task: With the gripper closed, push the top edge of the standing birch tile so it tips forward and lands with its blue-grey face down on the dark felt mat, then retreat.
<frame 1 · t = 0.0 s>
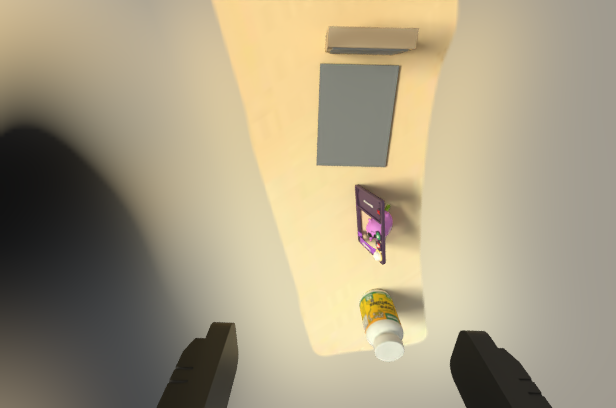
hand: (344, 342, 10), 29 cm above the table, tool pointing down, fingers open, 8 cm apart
felt mat: (354, 118, 35), on the table
tile: (360, 45, 32), on the table
supplement bottle: (374, 299, 47), on the table
purple piece: (372, 211, 41), on the table
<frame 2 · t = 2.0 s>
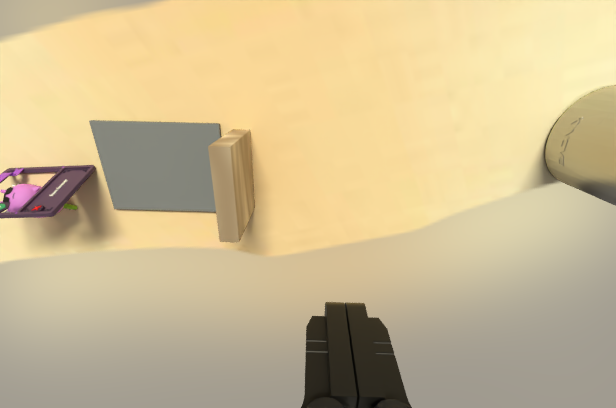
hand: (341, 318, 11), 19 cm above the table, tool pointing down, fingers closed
felt mat: (164, 168, 28), on the table
tile: (244, 170, 28), on the table
purple piece: (63, 187, 30), on the table
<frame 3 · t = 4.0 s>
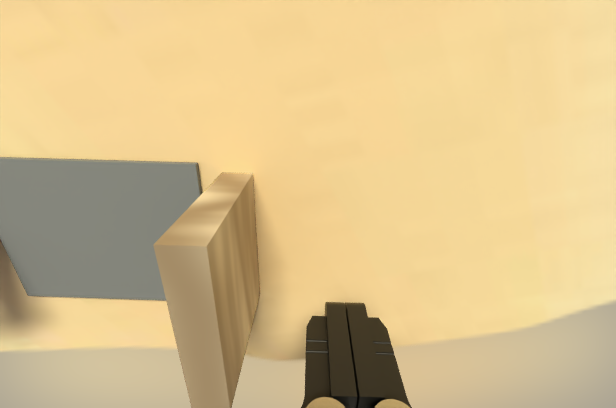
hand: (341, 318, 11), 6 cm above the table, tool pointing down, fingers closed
felt mat: (105, 235, 17), on the table
tile: (243, 238, 17), on the table
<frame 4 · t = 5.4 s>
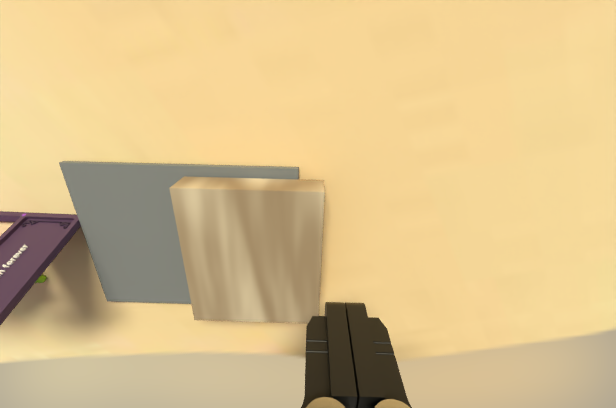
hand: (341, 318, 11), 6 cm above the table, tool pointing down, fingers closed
felt mat: (193, 240, 16), on the table
tile: (320, 256, 15), point 1 cm above the table, tilted 90°, touching felt mat
purple piece: (23, 244, 17), on the table
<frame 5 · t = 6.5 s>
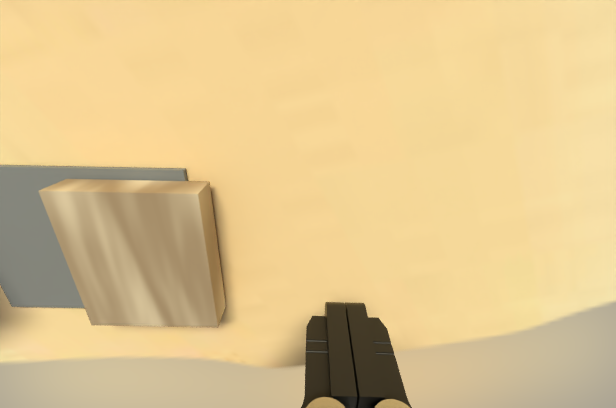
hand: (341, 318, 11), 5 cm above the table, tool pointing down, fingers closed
felt mat: (91, 243, 16), on the table
tile: (214, 258, 15), point 1 cm above the table, tilted 90°, touching felt mat
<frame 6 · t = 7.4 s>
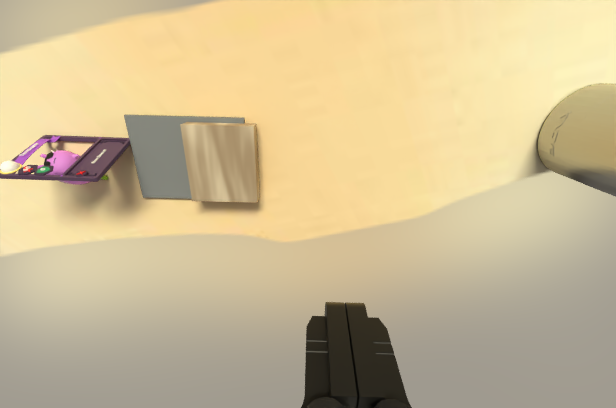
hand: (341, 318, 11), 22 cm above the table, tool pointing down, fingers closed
felt mat: (191, 159, 31), on the table
tile: (256, 164, 30), point 1 cm above the table, tilted 90°, touching felt mat
purple piece: (96, 157, 31), on the table
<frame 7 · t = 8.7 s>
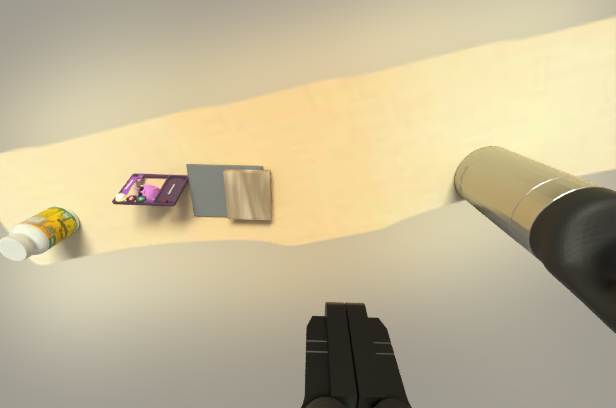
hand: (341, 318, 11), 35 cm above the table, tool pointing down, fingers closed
felt mat: (227, 191, 47), on the table
tile: (270, 195, 46), point 1 cm above the table, tilted 90°, touching felt mat
supplement bottle: (65, 218, 50), on the table
purple piece: (164, 187, 47), on the table, touching felt mat
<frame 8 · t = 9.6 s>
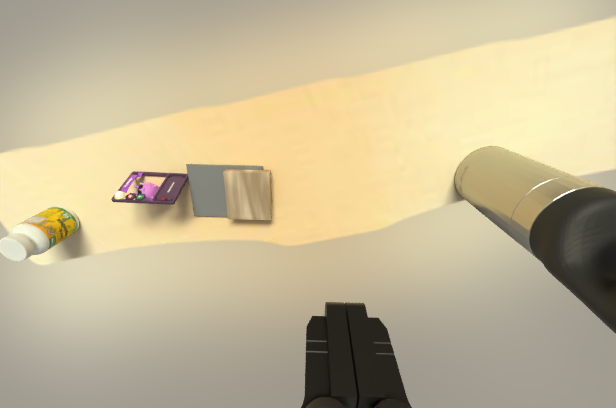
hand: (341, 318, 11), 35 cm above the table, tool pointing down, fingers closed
felt mat: (227, 191, 47), on the table
tile: (270, 195, 46), point 1 cm above the table, tilted 90°, touching felt mat
supplement bottle: (65, 218, 50), on the table
purple piece: (164, 185, 47), on the table
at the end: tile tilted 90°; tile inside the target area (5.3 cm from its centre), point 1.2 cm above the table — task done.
